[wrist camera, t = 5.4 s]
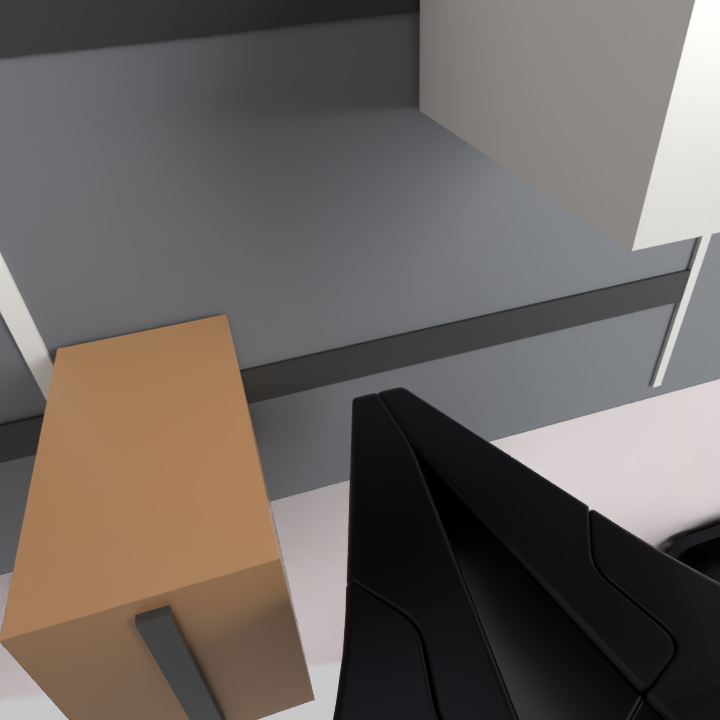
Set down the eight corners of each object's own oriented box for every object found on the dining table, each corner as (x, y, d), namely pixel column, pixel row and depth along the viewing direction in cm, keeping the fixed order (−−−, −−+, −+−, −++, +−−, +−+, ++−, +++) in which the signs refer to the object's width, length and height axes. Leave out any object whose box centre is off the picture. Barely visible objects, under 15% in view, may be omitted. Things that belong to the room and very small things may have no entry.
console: (703, 345, 15) (742, 374, 14) (-203, 578, 11) (-238, 643, 10) (907, -201, 9) (1007, -219, 8) (-1015, -120, 5) (-1327, -134, 4)
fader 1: (258, 452, 11) (316, 708, 7) (122, 487, 10) (112, 778, 7) (226, 314, 9) (281, 568, 5) (57, 348, 8) (-3, 652, 5)
